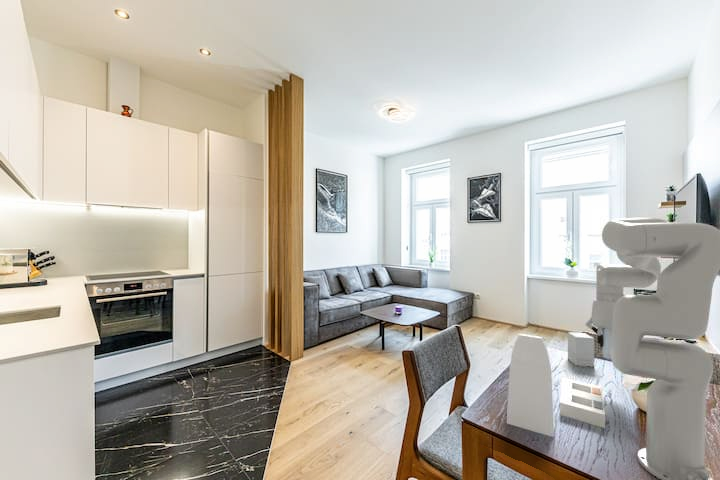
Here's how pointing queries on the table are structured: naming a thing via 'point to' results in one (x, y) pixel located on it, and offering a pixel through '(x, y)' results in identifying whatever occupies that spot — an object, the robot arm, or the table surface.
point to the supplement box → (581, 349)
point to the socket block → (582, 402)
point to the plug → (606, 342)
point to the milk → (530, 386)
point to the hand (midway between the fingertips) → (609, 346)
